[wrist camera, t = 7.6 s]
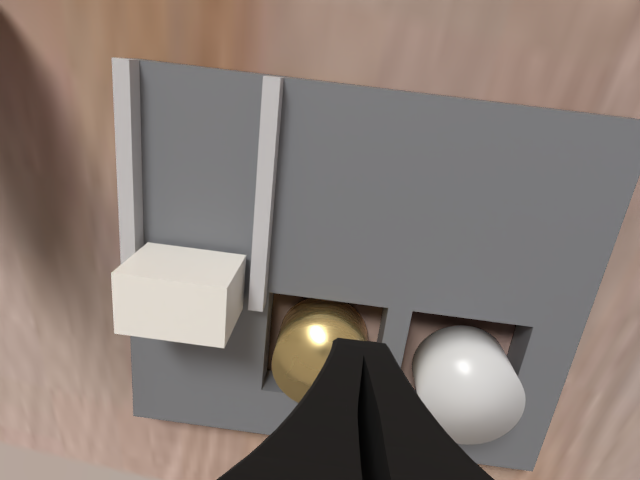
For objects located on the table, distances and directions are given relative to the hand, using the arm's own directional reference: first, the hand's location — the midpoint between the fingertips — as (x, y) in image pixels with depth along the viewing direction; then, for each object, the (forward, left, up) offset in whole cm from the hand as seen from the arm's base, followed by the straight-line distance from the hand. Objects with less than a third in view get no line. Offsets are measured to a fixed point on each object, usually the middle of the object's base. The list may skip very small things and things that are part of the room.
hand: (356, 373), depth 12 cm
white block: (+6, +1, -7) cm, 9 cm away
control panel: (0, +1, -9) cm, 9 cm away
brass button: (+1, +4, -9) cm, 10 cm away
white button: (-5, +4, -8) cm, 10 cm away
